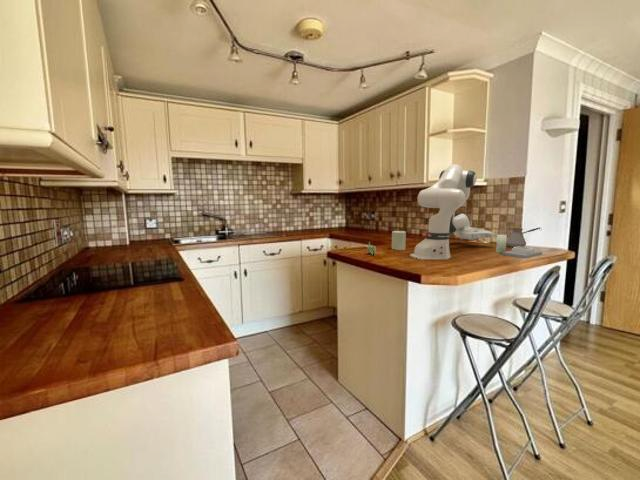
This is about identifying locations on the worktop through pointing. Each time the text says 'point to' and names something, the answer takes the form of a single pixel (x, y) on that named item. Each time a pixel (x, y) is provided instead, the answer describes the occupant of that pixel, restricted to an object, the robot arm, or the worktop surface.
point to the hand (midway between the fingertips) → (485, 236)
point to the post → (501, 243)
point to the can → (398, 240)
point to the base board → (522, 252)
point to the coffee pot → (518, 237)
